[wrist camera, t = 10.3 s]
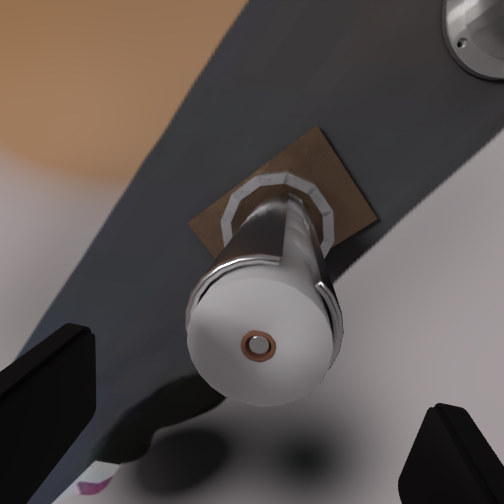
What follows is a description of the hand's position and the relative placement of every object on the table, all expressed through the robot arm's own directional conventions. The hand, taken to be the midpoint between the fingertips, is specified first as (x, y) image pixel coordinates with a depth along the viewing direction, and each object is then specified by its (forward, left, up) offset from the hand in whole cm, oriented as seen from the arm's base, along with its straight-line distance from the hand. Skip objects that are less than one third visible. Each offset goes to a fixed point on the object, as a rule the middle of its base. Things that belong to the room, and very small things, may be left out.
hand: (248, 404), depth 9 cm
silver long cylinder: (0, 0, -28) cm, 28 cm away
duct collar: (0, 0, -30) cm, 30 cm away
